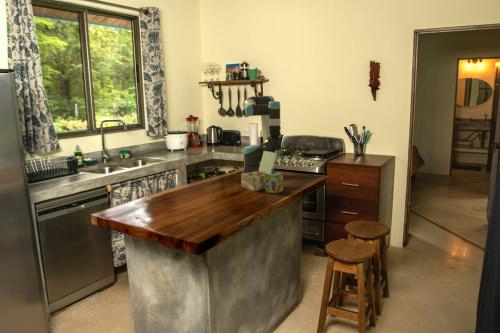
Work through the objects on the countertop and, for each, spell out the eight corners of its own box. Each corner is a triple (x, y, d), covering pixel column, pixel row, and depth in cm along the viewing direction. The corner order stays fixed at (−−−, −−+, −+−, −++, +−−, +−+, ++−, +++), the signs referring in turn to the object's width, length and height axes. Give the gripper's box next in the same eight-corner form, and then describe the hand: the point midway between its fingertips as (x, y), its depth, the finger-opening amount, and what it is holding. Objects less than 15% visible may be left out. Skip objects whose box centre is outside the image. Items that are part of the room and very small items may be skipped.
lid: (258, 171, 266) (259, 171, 266) (270, 174, 254) (271, 174, 255) (263, 150, 266) (264, 151, 267) (276, 153, 255) (277, 153, 255)
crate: (258, 184, 268) (258, 171, 266) (271, 187, 256) (270, 174, 254) (241, 187, 260) (241, 174, 259) (253, 191, 249) (252, 177, 247)
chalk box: (278, 194, 241) (277, 170, 238) (264, 192, 245) (264, 169, 242) (284, 190, 249) (283, 167, 246) (270, 189, 253) (270, 166, 250)
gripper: (279, 124, 266) (279, 158, 270) (263, 125, 259) (264, 160, 263) (286, 124, 260) (286, 159, 264) (270, 126, 253) (271, 162, 257)
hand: (275, 160), depth 264 cm, fingers closed
